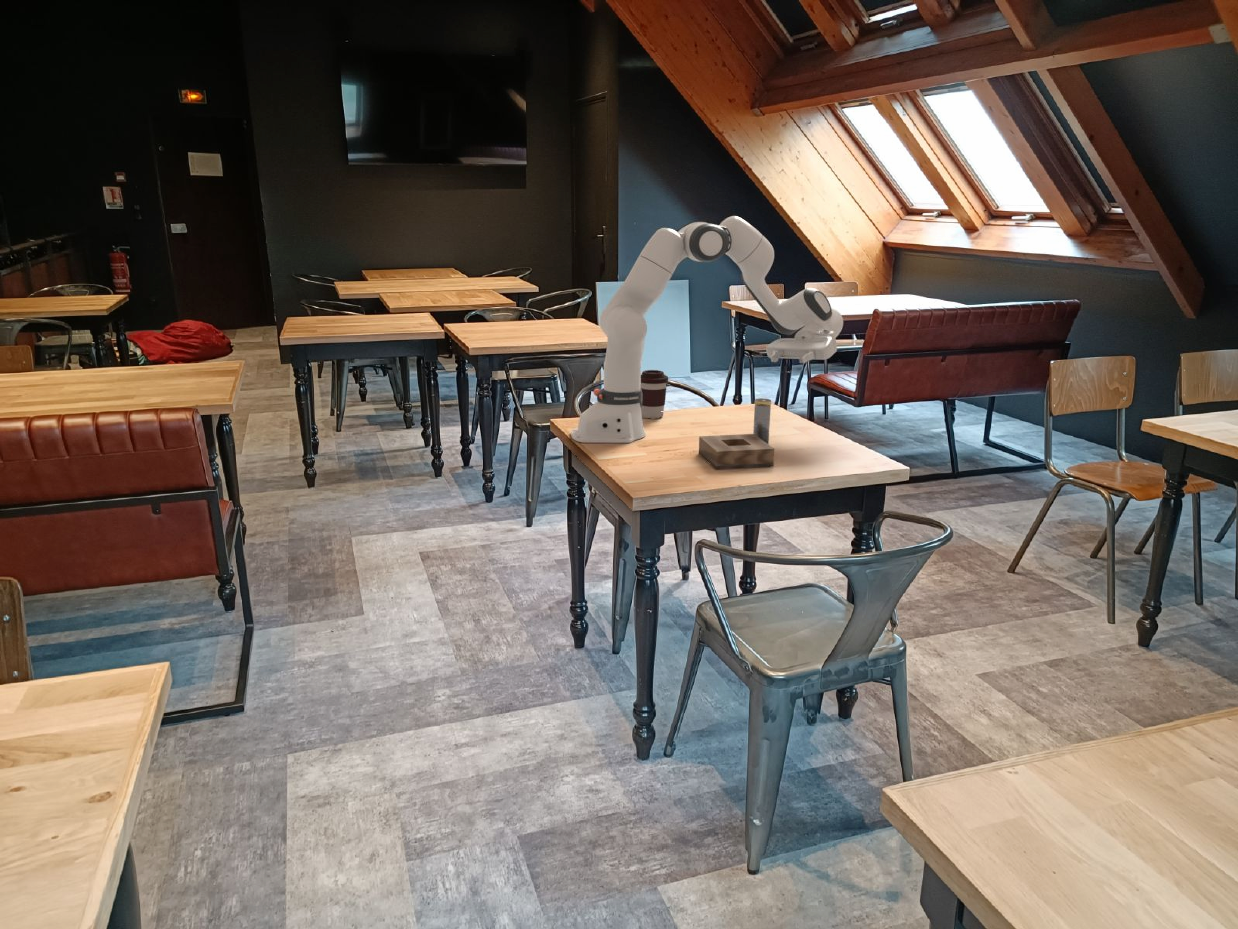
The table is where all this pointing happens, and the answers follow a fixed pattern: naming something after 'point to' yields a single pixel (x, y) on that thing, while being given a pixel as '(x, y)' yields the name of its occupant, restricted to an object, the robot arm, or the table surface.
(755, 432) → the steel rod
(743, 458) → the post block
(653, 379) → the coffee cup
